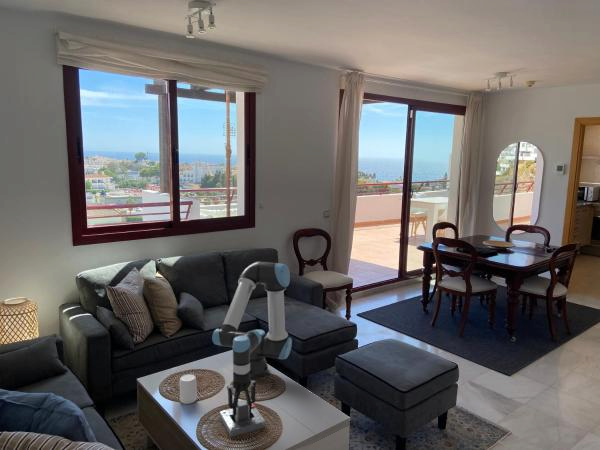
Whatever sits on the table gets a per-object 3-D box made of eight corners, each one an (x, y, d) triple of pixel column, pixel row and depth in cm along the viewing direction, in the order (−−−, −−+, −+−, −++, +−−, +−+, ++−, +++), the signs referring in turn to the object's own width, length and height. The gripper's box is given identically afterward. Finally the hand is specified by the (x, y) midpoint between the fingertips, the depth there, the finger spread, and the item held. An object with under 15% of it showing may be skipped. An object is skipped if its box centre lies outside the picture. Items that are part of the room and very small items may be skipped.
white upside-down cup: (192, 405, 215) (191, 382, 213) (177, 403, 216) (176, 380, 214) (199, 396, 222) (199, 374, 221) (184, 395, 224) (183, 372, 222)
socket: (252, 408, 213) (252, 401, 212) (265, 427, 198) (265, 419, 198) (219, 417, 205) (219, 410, 205) (230, 437, 191) (230, 429, 191)
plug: (245, 416, 205) (245, 399, 203) (248, 421, 201) (248, 404, 199) (235, 418, 203) (235, 401, 201) (239, 423, 199) (238, 406, 197)
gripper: (257, 363, 205) (257, 410, 209) (219, 371, 197) (220, 419, 201) (263, 370, 199) (263, 418, 202) (225, 379, 191) (225, 429, 194)
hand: (242, 419), depth 202 cm, fingers closed on plug, 4 cm apart
